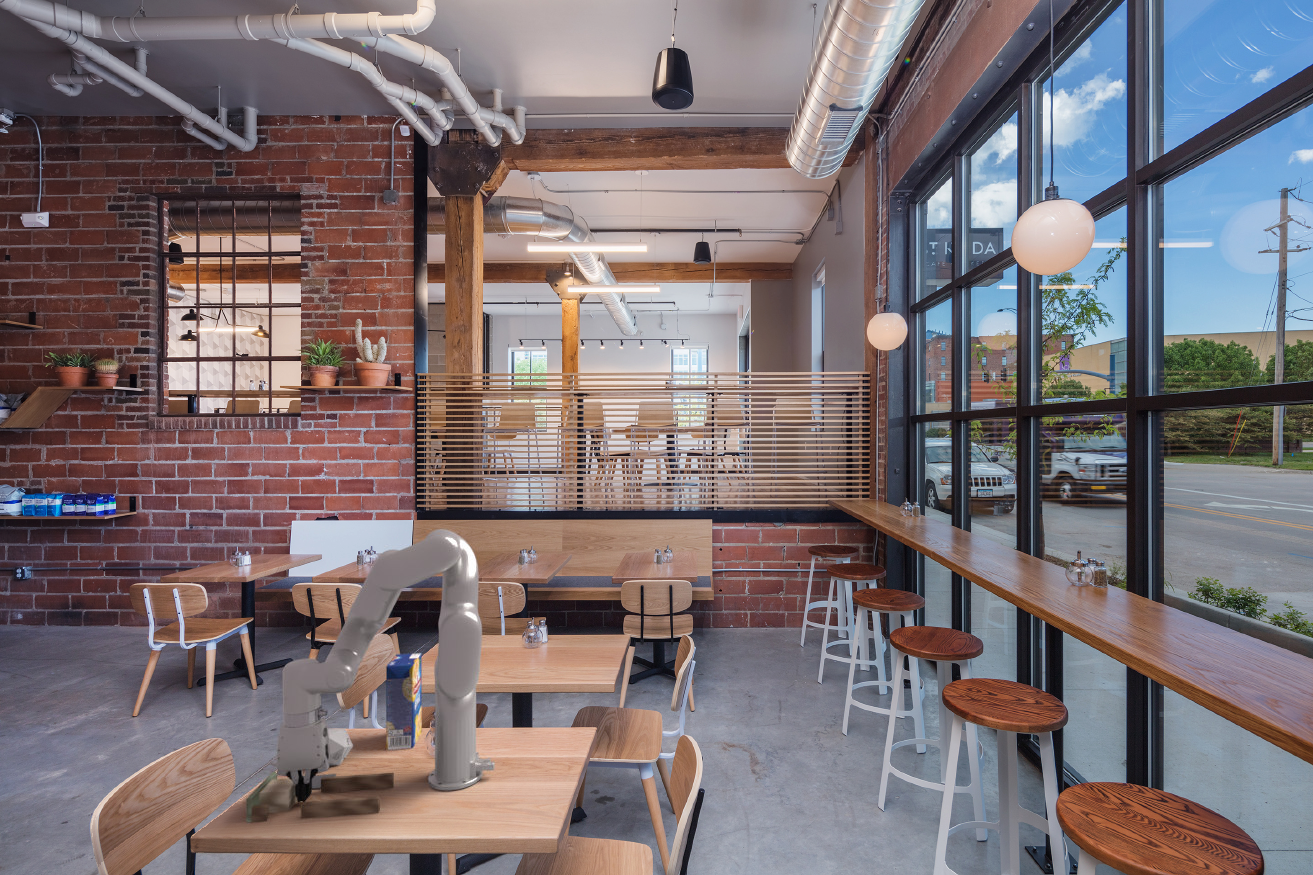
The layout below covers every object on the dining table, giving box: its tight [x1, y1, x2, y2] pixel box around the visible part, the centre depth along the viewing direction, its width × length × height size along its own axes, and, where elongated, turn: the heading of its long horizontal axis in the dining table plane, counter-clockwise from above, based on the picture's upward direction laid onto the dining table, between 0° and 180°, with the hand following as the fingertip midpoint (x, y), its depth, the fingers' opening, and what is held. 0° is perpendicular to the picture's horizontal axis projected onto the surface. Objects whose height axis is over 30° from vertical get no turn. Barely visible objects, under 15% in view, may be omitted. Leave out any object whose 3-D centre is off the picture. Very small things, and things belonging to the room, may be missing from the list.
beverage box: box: [385, 652, 423, 751], centre depth 180 cm, size 7×11×22 cm, turn 8°
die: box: [327, 728, 354, 767], centre depth 167 cm, size 8×9×10 cm
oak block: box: [259, 777, 297, 814], centre depth 146 cm, size 6×6×4 cm
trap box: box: [245, 771, 395, 823], centre depth 147 cm, size 27×12×5 cm, turn 97°
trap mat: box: [303, 773, 337, 791], centre depth 156 cm, size 8×7×1 cm
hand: (303, 798), depth 146 cm, fingers closed
